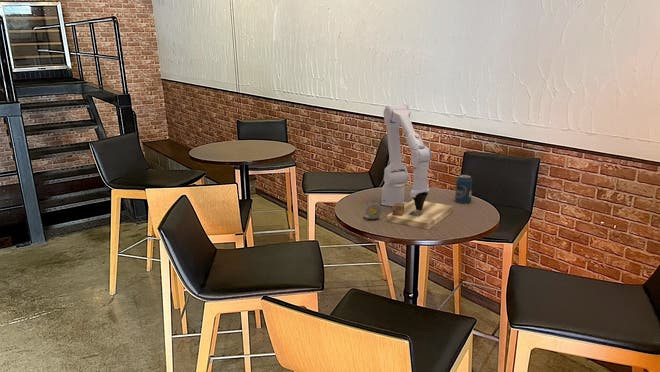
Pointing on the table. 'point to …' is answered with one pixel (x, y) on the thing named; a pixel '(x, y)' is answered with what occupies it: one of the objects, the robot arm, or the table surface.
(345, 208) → the table surface
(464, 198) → the soda can
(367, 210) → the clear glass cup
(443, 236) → the table surface
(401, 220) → the deck
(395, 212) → the walnut cube
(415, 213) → the ball
